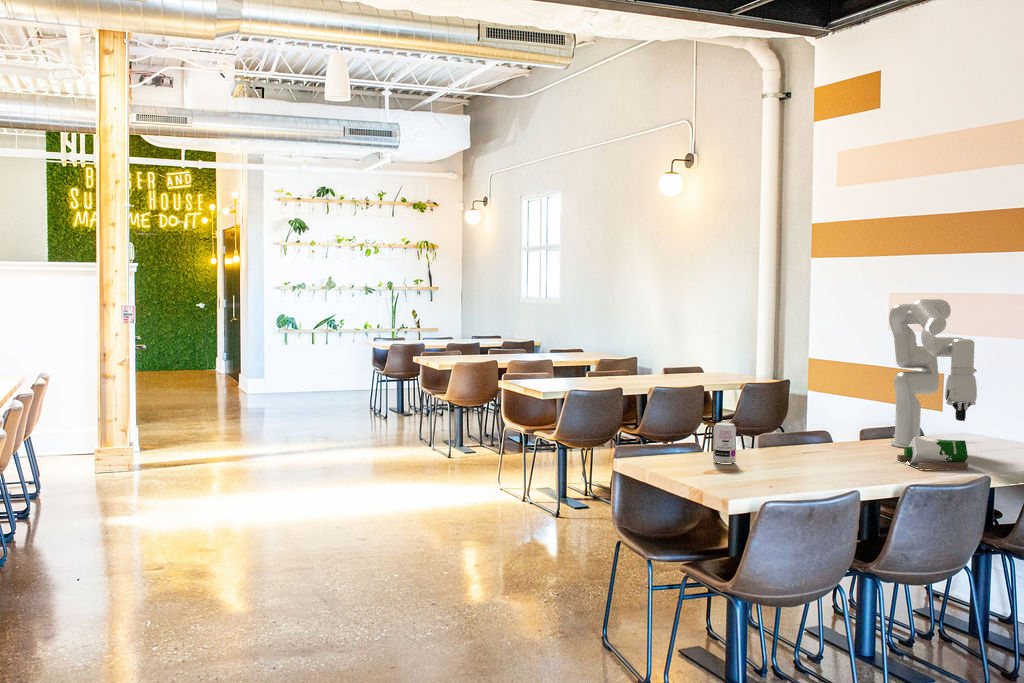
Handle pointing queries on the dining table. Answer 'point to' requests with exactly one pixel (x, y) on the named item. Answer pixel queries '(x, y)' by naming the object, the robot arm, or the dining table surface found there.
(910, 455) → the soya milk
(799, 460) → the dining table surface
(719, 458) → the supplement can
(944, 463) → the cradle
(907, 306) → the robot arm
